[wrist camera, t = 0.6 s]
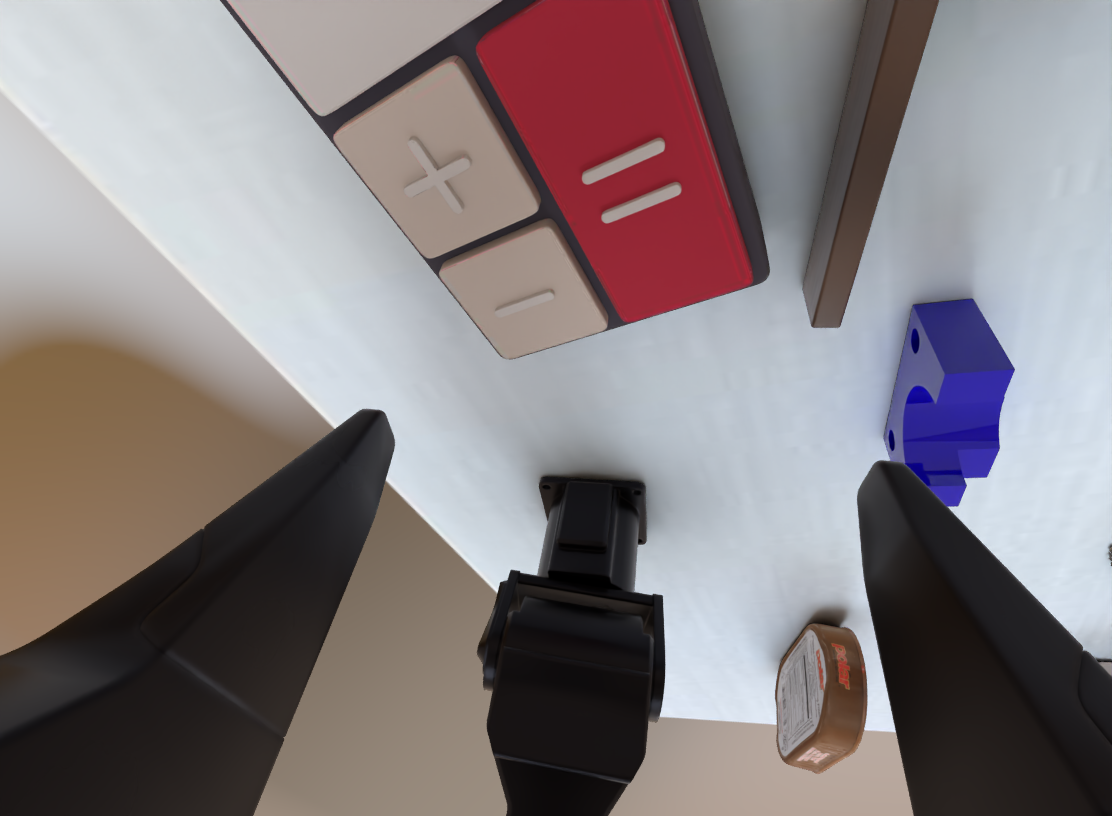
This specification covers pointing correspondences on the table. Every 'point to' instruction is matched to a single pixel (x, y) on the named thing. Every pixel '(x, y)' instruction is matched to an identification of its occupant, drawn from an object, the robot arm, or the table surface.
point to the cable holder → (948, 397)
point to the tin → (821, 698)
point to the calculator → (533, 150)
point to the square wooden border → (864, 149)
